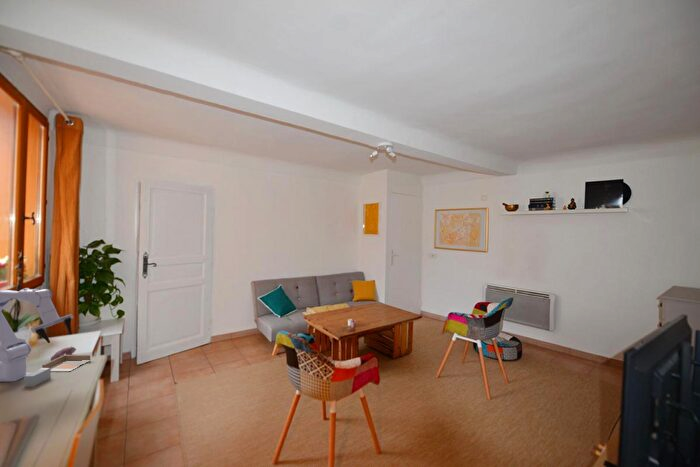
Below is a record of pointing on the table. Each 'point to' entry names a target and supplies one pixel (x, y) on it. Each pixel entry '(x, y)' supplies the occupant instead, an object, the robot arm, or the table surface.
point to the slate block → (37, 377)
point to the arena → (58, 363)
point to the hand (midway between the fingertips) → (60, 338)
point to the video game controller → (63, 352)
